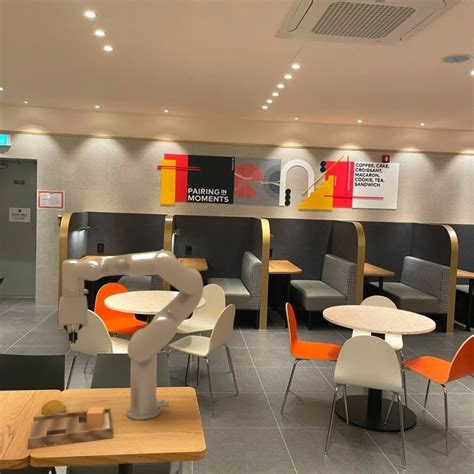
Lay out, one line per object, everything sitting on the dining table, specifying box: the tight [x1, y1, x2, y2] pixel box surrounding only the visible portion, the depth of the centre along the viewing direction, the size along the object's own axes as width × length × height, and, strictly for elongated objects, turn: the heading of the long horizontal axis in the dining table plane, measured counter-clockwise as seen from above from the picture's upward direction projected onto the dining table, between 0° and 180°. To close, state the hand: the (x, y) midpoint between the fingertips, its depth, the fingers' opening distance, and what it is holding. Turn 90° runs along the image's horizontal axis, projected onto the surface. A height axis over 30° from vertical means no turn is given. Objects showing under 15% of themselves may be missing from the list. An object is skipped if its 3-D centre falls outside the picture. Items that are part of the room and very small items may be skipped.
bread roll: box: [41, 399, 67, 416], centre depth 176 cm, size 8×9×4 cm
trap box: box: [27, 407, 114, 450], centre depth 160 cm, size 26×17×3 cm, turn 108°
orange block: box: [87, 406, 105, 428], centre depth 161 cm, size 5×5×5 cm
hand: (73, 342), depth 172 cm, fingers closed
